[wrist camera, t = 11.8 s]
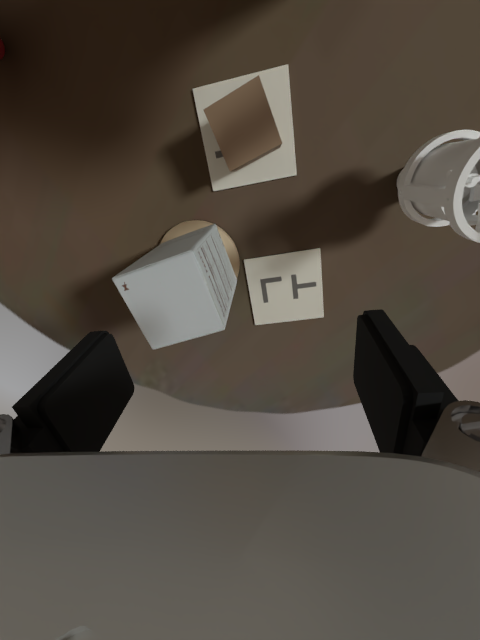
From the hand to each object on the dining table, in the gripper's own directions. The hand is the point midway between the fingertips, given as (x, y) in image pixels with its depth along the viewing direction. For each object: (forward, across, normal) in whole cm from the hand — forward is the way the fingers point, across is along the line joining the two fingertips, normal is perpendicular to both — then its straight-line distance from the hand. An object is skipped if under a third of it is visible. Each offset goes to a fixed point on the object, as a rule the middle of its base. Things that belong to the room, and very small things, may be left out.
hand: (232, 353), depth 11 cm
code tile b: (+25, 0, -9) cm, 26 cm away
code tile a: (+24, -3, +8) cm, 26 cm away
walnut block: (+25, 0, -9) cm, 26 cm away
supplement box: (+24, +7, +3) cm, 25 cm away
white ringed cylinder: (+25, -16, -2) cm, 30 cm away
